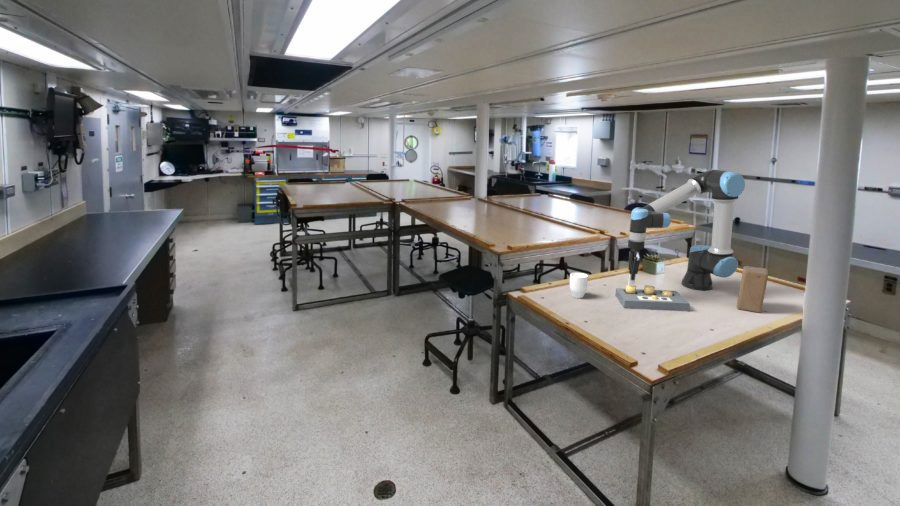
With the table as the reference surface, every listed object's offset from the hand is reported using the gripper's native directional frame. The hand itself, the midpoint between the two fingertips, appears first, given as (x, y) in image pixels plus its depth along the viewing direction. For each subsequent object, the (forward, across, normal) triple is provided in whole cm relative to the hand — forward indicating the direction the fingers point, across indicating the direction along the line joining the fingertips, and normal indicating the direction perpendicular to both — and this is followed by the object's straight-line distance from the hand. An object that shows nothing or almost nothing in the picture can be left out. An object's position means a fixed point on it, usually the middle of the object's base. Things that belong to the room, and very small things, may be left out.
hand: (631, 285), depth 235 cm
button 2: (+7, 0, +18) cm, 19 cm away
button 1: (+5, 0, 0) cm, 5 cm away
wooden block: (+8, +5, +55) cm, 56 cm away
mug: (+8, -2, -26) cm, 28 cm away
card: (+4, +9, +9) cm, 13 cm away
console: (+8, +4, +9) cm, 12 cm away
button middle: (+5, 0, +9) cm, 10 cm away
